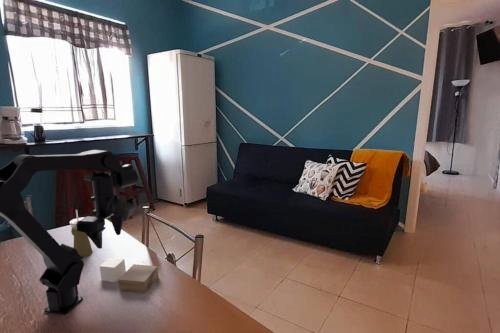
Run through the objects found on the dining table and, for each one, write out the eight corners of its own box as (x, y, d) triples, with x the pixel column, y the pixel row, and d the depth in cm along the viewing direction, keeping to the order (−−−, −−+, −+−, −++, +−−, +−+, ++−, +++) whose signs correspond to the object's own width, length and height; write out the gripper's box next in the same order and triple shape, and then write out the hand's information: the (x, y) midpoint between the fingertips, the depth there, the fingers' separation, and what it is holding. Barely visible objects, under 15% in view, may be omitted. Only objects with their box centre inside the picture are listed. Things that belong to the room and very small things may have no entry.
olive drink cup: (77, 259, 99) (73, 230, 97) (70, 254, 102) (66, 226, 100) (95, 252, 104) (91, 224, 101) (88, 248, 107) (84, 220, 105)
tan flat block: (145, 294, 81) (144, 281, 80) (119, 291, 82) (118, 279, 81) (158, 277, 89) (157, 266, 88) (134, 275, 90) (133, 264, 89)
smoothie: (68, 246, 109) (63, 211, 106) (82, 238, 115) (78, 205, 112) (82, 248, 107) (76, 213, 104) (95, 240, 113) (91, 207, 110)
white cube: (116, 282, 86) (114, 267, 85) (101, 280, 87) (99, 266, 86) (125, 273, 91) (124, 258, 90) (111, 271, 92) (110, 257, 91)
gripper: (110, 203, 74) (116, 258, 77) (145, 185, 92) (148, 230, 95) (71, 201, 75) (78, 255, 78) (113, 183, 93) (118, 228, 96)
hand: (109, 241), depth 87 cm, fingers open, 9 cm apart
